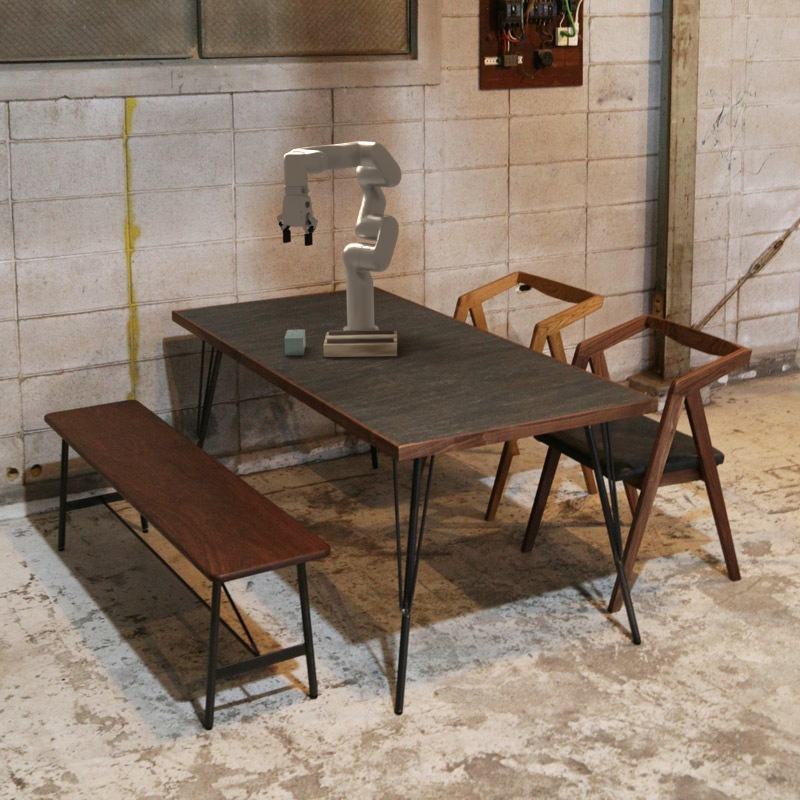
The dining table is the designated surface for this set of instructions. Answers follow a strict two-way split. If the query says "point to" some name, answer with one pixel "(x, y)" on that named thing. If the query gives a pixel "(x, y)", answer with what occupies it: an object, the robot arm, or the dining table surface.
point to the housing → (295, 342)
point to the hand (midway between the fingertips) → (297, 244)
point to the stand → (360, 343)
